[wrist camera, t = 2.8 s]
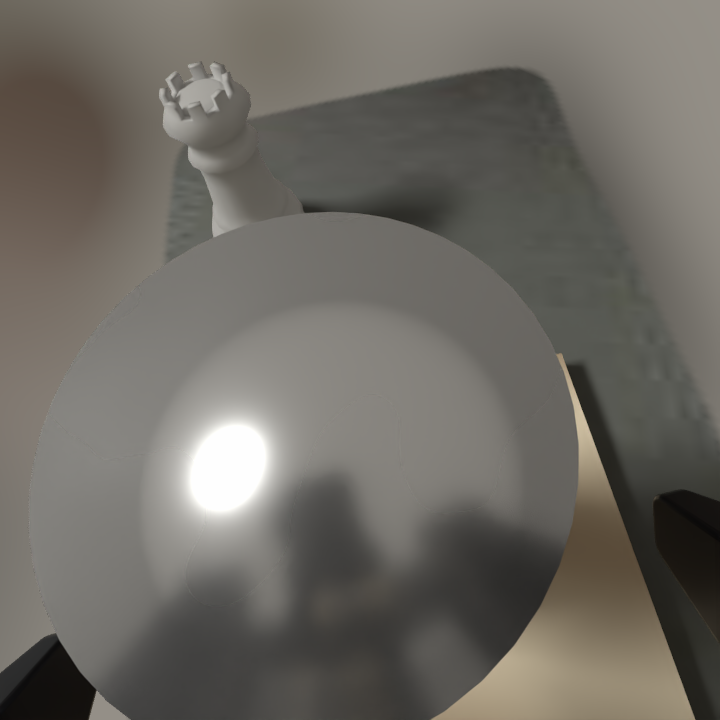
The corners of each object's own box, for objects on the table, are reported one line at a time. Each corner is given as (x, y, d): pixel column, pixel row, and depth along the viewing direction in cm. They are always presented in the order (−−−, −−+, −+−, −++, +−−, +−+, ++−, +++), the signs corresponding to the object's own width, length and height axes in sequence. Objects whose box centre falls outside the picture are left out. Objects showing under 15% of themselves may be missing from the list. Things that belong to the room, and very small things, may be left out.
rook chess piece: (331, 236, 23) (285, 74, 16) (258, 295, 22) (175, 150, 15) (274, 192, 25) (211, 29, 18) (205, 245, 24) (108, 94, 17)
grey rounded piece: (520, 654, 14) (929, 892, 2) (314, 682, 14) (-199, 1007, 3) (471, 450, 17) (549, 105, 5) (299, 479, 17) (15, 217, 6)
